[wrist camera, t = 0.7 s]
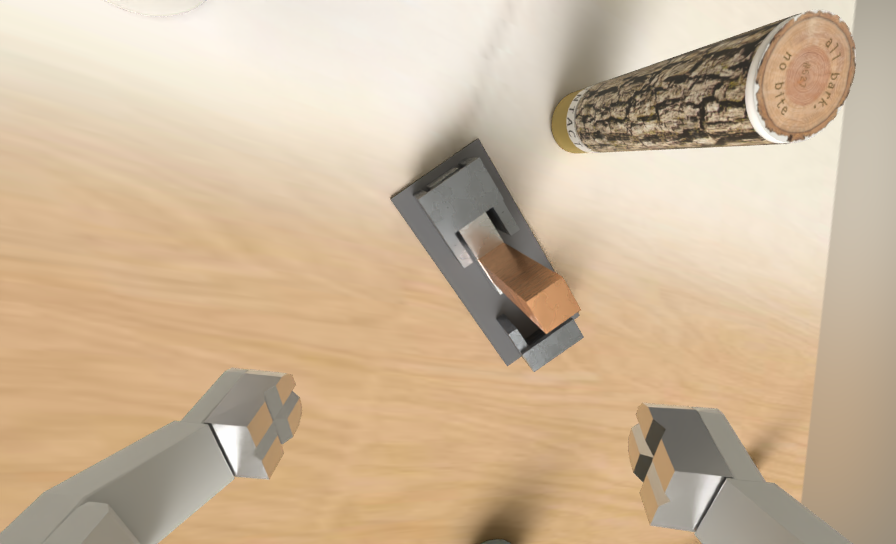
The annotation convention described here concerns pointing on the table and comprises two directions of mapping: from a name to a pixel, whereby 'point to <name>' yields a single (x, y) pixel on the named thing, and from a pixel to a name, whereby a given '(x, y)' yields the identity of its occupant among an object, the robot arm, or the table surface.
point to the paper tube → (720, 93)
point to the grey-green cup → (496, 542)
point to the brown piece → (517, 273)
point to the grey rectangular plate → (471, 279)
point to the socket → (542, 341)
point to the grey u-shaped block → (465, 205)
